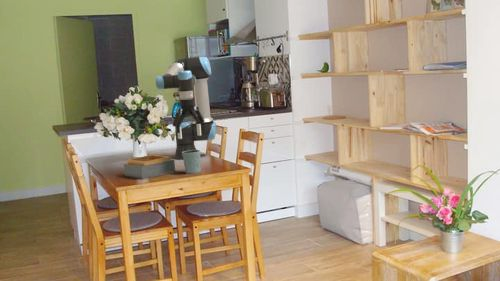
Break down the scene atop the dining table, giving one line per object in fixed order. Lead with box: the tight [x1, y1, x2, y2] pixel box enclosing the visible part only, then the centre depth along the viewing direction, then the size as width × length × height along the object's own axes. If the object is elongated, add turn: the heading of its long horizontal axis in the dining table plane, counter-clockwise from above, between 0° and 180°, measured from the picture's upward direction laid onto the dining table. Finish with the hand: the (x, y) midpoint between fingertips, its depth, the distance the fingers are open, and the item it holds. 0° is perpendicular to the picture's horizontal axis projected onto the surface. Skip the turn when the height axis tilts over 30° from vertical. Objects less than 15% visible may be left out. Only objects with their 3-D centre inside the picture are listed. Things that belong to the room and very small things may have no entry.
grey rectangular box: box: [123, 154, 176, 180], centre depth 324 cm, size 26×18×9 cm
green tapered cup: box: [182, 149, 202, 175], centre depth 319 cm, size 10×10×12 cm
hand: (189, 137), depth 317 cm, fingers open, 13 cm apart
